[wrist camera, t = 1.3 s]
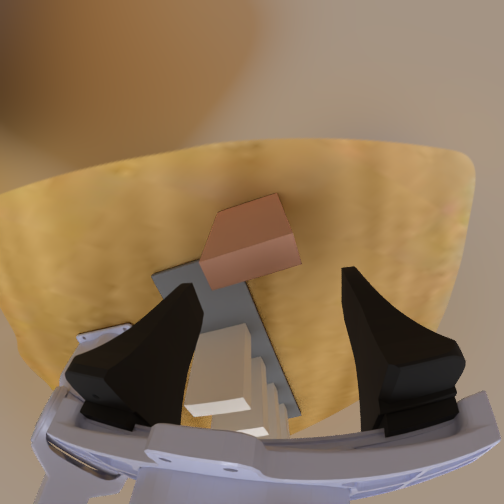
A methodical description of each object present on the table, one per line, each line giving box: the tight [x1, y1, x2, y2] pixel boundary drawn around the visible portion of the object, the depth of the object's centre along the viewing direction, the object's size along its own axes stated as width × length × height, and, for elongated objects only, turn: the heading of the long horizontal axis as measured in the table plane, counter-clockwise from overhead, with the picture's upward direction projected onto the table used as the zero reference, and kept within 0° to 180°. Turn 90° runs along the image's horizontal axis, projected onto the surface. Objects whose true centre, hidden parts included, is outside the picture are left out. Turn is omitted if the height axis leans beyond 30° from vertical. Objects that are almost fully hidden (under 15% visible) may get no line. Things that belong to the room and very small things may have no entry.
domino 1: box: [199, 193, 302, 291], centre depth 18 cm, size 5×2×9 cm, turn 109°
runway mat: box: [151, 259, 301, 418], centre depth 29 cm, size 8×27×1 cm, turn 19°
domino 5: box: [279, 403, 290, 439], centre depth 29 cm, size 5×2×9 cm, turn 109°
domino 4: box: [256, 383, 281, 439], centre depth 27 cm, size 5×2×9 cm, turn 109°
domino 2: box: [184, 323, 251, 417], centre depth 23 cm, size 5×2×9 cm, turn 109°
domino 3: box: [211, 356, 269, 437], centre depth 25 cm, size 5×2×9 cm, turn 109°
